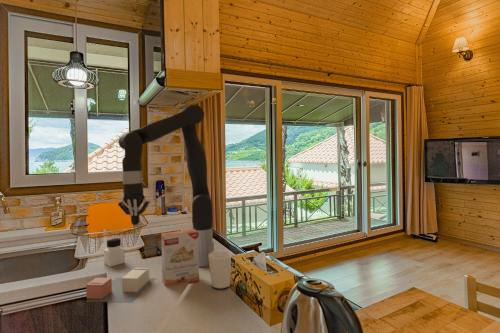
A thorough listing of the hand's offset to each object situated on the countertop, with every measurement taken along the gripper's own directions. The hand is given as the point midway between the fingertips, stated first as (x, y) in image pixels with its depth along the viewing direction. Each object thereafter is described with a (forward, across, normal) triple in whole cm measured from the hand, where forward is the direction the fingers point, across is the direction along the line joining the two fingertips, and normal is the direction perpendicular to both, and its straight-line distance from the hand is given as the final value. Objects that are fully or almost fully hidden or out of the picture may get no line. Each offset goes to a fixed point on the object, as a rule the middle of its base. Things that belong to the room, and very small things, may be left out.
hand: (135, 224), depth 119 cm
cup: (+25, -34, +3) cm, 43 cm away
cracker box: (+25, -17, 0) cm, 30 cm away
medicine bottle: (+24, +22, -21) cm, 39 cm away
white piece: (+24, +2, +8) cm, 26 cm away
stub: (+22, +9, +14) cm, 28 cm away
